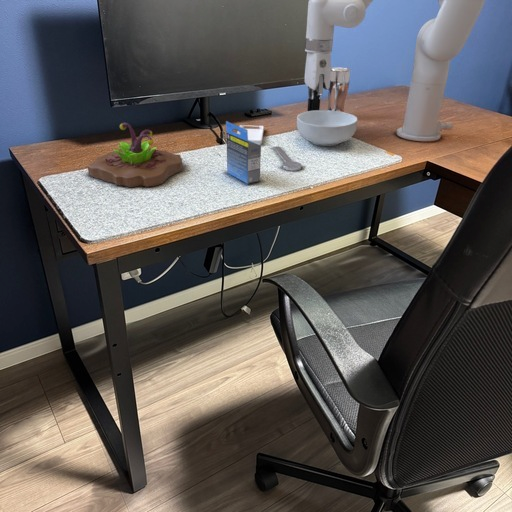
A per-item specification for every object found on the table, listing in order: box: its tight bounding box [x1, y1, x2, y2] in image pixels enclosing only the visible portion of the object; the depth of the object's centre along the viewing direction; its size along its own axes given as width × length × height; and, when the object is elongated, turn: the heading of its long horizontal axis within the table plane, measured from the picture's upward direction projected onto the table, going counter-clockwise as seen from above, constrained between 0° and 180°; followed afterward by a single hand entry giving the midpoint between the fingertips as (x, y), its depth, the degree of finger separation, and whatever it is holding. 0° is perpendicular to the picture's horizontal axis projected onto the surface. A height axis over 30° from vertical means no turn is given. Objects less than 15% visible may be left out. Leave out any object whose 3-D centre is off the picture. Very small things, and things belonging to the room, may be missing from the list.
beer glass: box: [327, 66, 351, 112], centre depth 159 cm, size 7×7×15 cm
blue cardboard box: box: [225, 120, 262, 185], centre depth 110 cm, size 9×4×12 cm, turn 35°
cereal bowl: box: [296, 109, 358, 147], centre depth 136 cm, size 17×17×7 cm
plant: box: [87, 121, 183, 188], centre depth 112 cm, size 20×20×11 cm
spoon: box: [273, 146, 302, 172], centre depth 125 cm, size 5×17×1 cm, turn 12°
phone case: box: [236, 124, 265, 146], centre depth 140 cm, size 7×1×15 cm
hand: (313, 112), depth 145 cm, fingers closed
